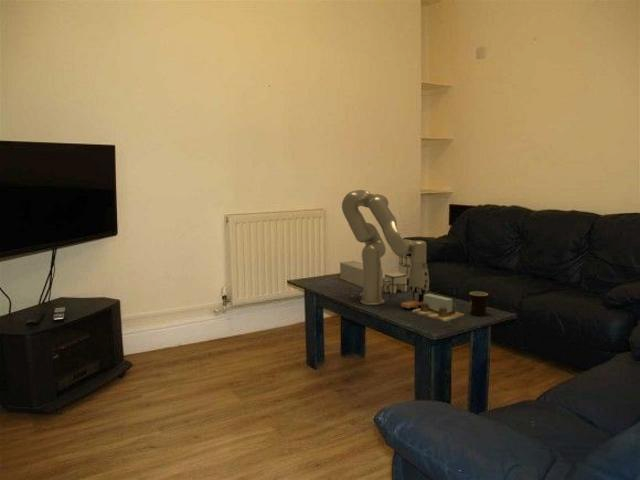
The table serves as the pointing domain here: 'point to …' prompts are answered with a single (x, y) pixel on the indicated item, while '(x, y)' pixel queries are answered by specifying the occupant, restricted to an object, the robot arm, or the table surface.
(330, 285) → the table surface
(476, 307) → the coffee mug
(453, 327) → the table surface
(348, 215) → the robot arm
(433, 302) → the pale grey bar
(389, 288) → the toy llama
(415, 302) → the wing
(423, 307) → the jig
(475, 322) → the table surface
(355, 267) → the grey rectangular block
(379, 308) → the table surface
